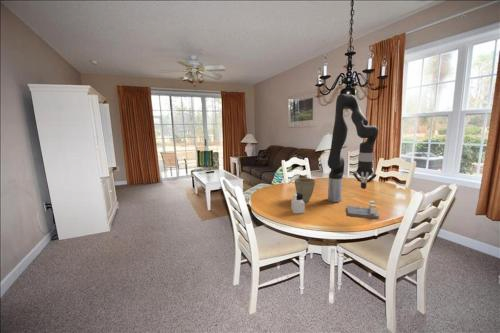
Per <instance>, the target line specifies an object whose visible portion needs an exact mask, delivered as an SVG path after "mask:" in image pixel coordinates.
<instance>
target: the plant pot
mask: <svg viewBox="0 0 500 333" xmlns="http://www.w3.org/2000/svg"><path fill="white" fill-rule="evenodd" d="M315 184H316V180H315V179H314V178H312V177H311V178H310V177H298V178H294V187H295V191H296V193H301V194H302V195H303V201H304V202H305V203H308V202H310V200H311V198H312V195H313V193H314V189H315V186H316V185H315Z"/></svg>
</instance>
